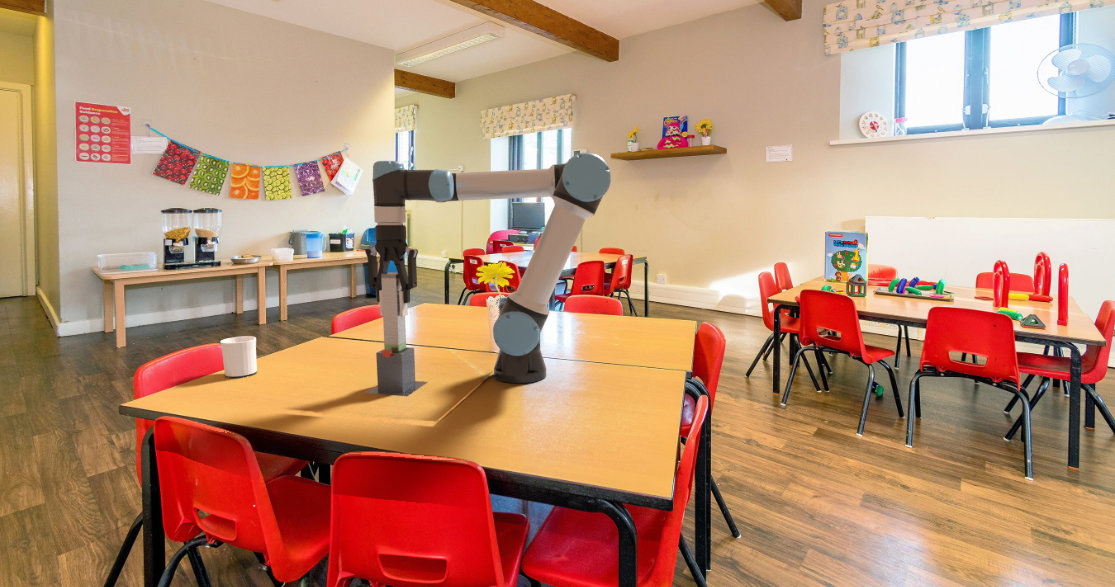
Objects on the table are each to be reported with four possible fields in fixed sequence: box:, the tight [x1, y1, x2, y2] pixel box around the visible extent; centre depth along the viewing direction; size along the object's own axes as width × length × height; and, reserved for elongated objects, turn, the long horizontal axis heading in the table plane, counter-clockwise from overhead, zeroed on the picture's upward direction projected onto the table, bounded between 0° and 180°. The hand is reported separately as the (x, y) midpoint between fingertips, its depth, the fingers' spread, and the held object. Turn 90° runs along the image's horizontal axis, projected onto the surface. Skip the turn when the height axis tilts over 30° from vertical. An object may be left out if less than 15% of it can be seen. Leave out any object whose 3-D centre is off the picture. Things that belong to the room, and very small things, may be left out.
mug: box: [219, 335, 258, 379], centre depth 157 cm, size 11×9×10 cm
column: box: [381, 272, 407, 353], centre depth 140 cm, size 4×4×23 cm
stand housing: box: [364, 346, 429, 397], centre depth 142 cm, size 12×12×12 cm
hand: (394, 314), depth 140 cm, fingers open, 5 cm apart
